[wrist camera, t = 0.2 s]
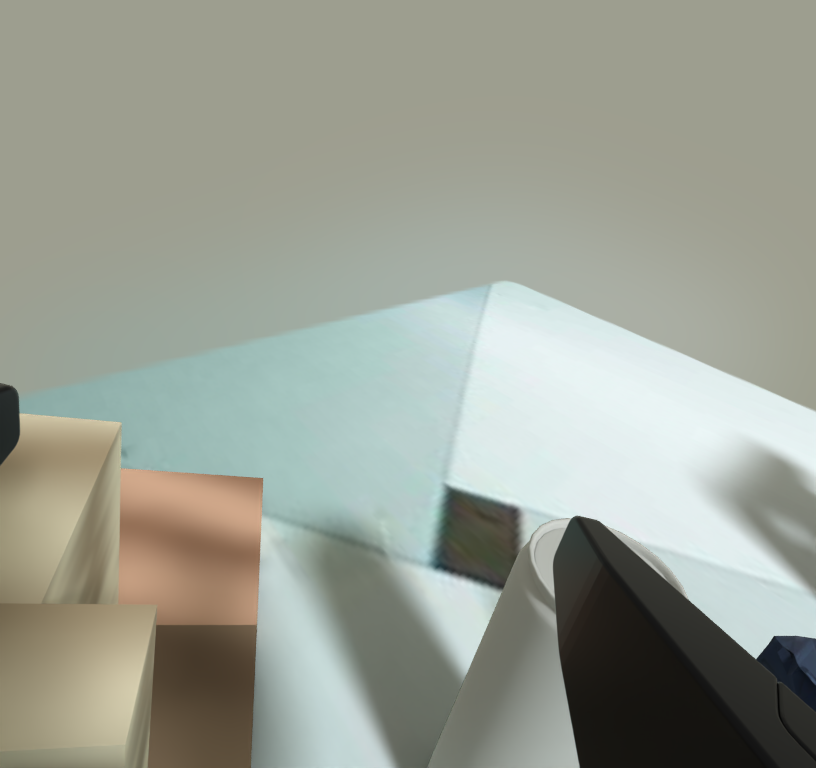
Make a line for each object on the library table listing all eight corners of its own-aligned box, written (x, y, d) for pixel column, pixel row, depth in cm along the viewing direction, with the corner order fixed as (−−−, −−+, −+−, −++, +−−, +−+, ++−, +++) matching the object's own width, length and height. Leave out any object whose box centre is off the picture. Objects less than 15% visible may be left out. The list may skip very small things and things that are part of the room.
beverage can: (392, 799, 21) (491, 553, 15) (471, 719, 24) (574, 496, 19) (497, 930, 18) (659, 687, 13) (569, 819, 21) (720, 592, 16)
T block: (118, 981, 14) (125, 744, 10) (-297, 1047, 12) (-521, 779, 8) (179, 637, 23) (197, 429, 18) (-57, 639, 21) (-99, 402, 16)
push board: (224, 1271, 12) (229, 1260, 11) (-819, 1586, 8) (-883, 1589, 7) (260, 494, 33) (263, 478, 33) (-19, 477, 29) (-21, 458, 29)
